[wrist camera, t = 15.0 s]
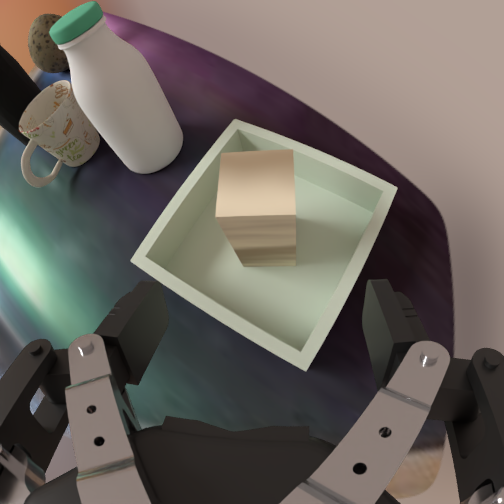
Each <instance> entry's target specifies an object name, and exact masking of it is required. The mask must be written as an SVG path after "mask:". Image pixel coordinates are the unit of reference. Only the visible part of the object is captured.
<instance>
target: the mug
mask: <svg viewBox="0 0 504 504" xmlns="http://www.w3.org/2000/svg"><path fill="white" fill-rule="evenodd" d="M19 130H20V132H21V133H22V134H23V135H25V136H26V137H28V138H29V139H30V141H29V143H28V145H27V147H26V148H25V150H24V152H23V155H22V158H21V168H22V172H23V175H24V178H25V179H26V181H27V182H28V183H29V184H30V185H32V186H34V187H43V186H45V185H47V184H49V183H50V182H52V181H53V180H54V179H55V177H56V176H57V174H58V172H59V170H60V168H61V165H62V162H64V163H65V164H67V165H68V166H71V167H77V166H80V165H82V164H83V163H85V162H86V161H88V160H89V159H90V158H91V157H92V156H93V154H94V153H95V152H96V150H97V148H98V146H99V142H100V137H99V134H98V132H97V131H96V129H95V127H94V125H93V124H92V123H91V121H90V120H89V119H88V117H87V116H86V115H85V113H84V112H83V110H82V109H81V107H80V106H79V104H78V102H77V100H76V98H75V95H74V92H73V89H72V84H71V83H70V82H69V81H67V80H62V81H58V82H56V83H54V84H52V85H50V86H48V87H47V88H46V89H44V90H43V91H42V92H41V93H39V94H38V95H37V96H36V97H35V98H34V99H33V100H32V102H31V103H30V104H29V105H28V107H27V108H26V110H25V111H24V113H23V115H22V117H21V119H20V122H19ZM37 145H39V146H40V147H42V148H43V149H45V150H46V151H48V152H49V153H51V154H52V155H53V156H55V157H56V158H58V159H59V161H58V162H57V164H56V166H55V167H54V169H53V171H52V173H51V174H50V175H49V176H47V177H44V178H39V177H36V176H35V175H34V174H33V173H32V171H31V168H30V157H31V155H32V153H33V151H34V150H35V148H36V146H37Z"/></svg>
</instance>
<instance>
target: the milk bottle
mask: <svg viewBox="0 0 504 504" xmlns="http://www.w3.org/2000/svg"><path fill="white" fill-rule="evenodd" d="M105 21H106V17H104V15H103V12H102V10H101V7H100V6H99V4H98V3H97V2H95V1H92V2H88V3H85V4H83V5H81V6H78V7H77V8H75V9H73V10H71V11H70V12H68V13H67V14H66V15H64V16H63V17H62V18H60V19H59V20H58V21H57V22H56V23H55V24H54V25H53V26H52V27H51V29H50V31H49V33H50V36H51V38H52V39H53V41H54V42H55V43H56V44H57V45H58V48H59V49H60V50H64V52H65V54H66V56H67V59H68V63H69V67H70V73H71V83H72V89H73V92H74V95H75V98H76V100H77V102H78V104H79V106H80V107H81V109H82V110H83V112H84V113H85V115H86V116H87V117H88V119H89V120H90V121H91V123H92V124H93V125H94V127H95V128H96V129H97V130H98V132H99V133H100V134H101V136H102V137H103V138H104V139H105V141H106V142H107V143H108V144H109V146H110V147H111V148H112V149H113V151H114V152H115V153H116V154H117V155H118V157H119V158H120V159H121V160H122V162H123V163H124V164H125V165H126V166H127V167H128V168H129V169H130V170H132V171H134V172H136V173H141V174H148V173H153V172H156V171H159V170H161V169H163V168H164V167H166V166H167V165H169V164H170V163H171V162H172V161H173V160H174V159H175V158H176V156H177V155H178V154H179V152H180V150H181V147H182V144H183V133H182V130H181V128H180V126H179V124H178V122H177V120H176V118H175V116H174V114H173V111H172V109H171V107H170V105H169V103H168V101H167V99H166V97H165V95H164V93H163V91H162V89H161V87H160V85H159V83H158V81H157V79H156V77H155V75H154V74H153V72H152V70H151V68H150V66H149V64H148V63H147V61H146V60H145V58H144V57H143V55H142V54H141V53H140V52H139V51H138V50H137V49H136V48H134V47H133V46H132V45H130V44H129V43H127V42H126V41H124V40H122V39H121V38H119V37H118V36H117V35H116V34H114V33H113V32H112V31H111V30H110V29H109V28H108V27H107V25H106V24H105Z"/></svg>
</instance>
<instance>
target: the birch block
mask: <svg viewBox="0 0 504 504" xmlns="http://www.w3.org/2000/svg"><path fill="white" fill-rule="evenodd" d="M215 218H216V219H217V221H218V223H219V225H220V226H221V228H222V230H223V232H224V233H225V235H226V237H227V239H228V241H229V242H230V244H231V246H232V248H233V249H234V251H235V253H236V255H237V256H238V258H239V260H240V262H241V263H242V265H243V267H262V266H296V204H295V178H294V157H293V149H286V150H261V151H244V152H229V153H221V160H220V170H219V181H218V191H217V202H216V214H215Z"/></svg>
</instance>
